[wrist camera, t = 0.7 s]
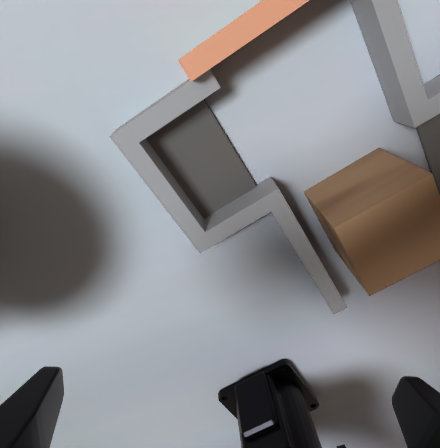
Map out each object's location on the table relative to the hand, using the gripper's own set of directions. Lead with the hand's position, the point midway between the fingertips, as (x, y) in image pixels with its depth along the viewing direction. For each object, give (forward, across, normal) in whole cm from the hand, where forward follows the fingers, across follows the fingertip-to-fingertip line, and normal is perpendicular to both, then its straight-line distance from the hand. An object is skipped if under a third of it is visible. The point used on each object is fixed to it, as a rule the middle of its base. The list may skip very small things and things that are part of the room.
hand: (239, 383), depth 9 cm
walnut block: (+13, -9, -1) cm, 16 cm away
